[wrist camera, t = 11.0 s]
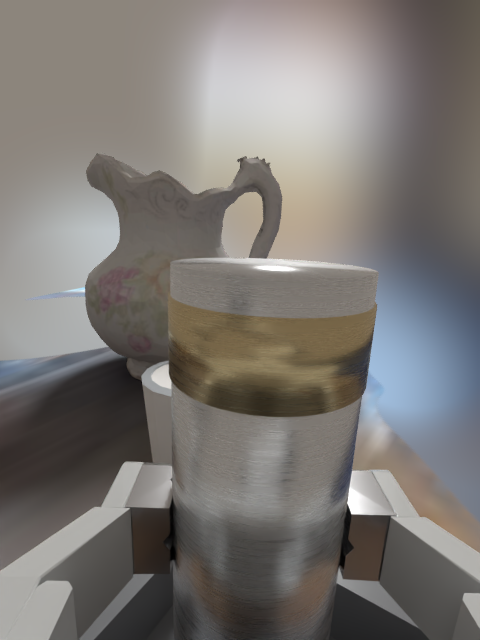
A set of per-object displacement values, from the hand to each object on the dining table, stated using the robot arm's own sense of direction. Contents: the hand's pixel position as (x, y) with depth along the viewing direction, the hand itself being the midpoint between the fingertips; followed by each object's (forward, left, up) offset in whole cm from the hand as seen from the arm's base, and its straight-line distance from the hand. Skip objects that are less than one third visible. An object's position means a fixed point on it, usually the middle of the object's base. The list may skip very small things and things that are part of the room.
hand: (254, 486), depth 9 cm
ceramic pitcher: (-24, +24, -10) cm, 35 cm away
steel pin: (0, -1, -8) cm, 8 cm away
